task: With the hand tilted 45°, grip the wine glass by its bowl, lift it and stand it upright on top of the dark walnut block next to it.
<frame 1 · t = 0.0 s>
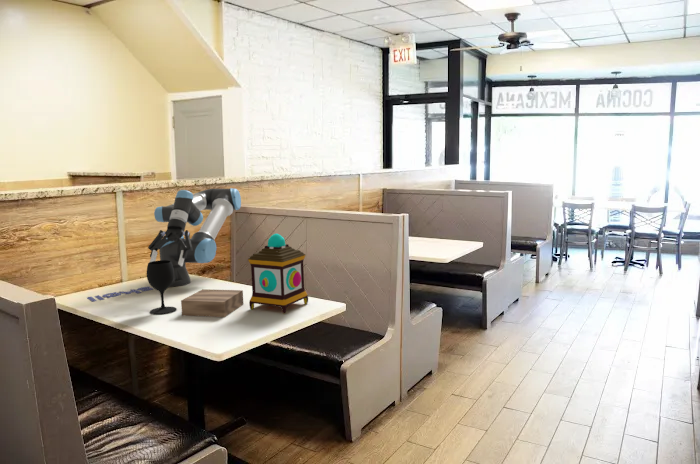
hand: (165, 265, 237), 15 cm above the table, tool tilted 35°, fingers open, 13 cm apart
signage: (122, 295, 251), on the table
walnut block: (213, 309, 221), on the table
wine glass: (163, 311, 221), on the table
decorative lantern: (279, 306, 223), on the table
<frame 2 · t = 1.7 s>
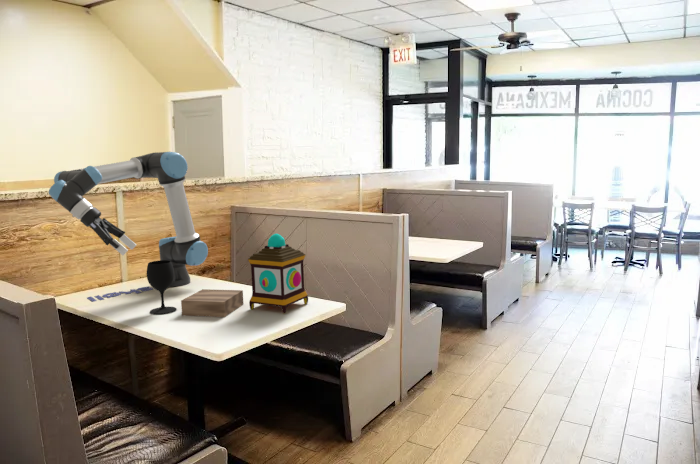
hand: (130, 250, 216), 25 cm above the table, tool tilted 45°, fingers open, 13 cm apart
nothing on the table moved.
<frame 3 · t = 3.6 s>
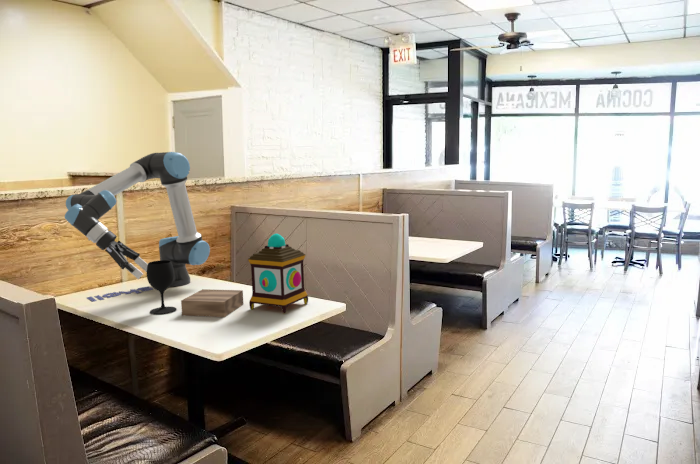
hand: (145, 273, 217), 16 cm above the table, tool tilted 45°, fingers open, 13 cm apart
nothing on the table moved.
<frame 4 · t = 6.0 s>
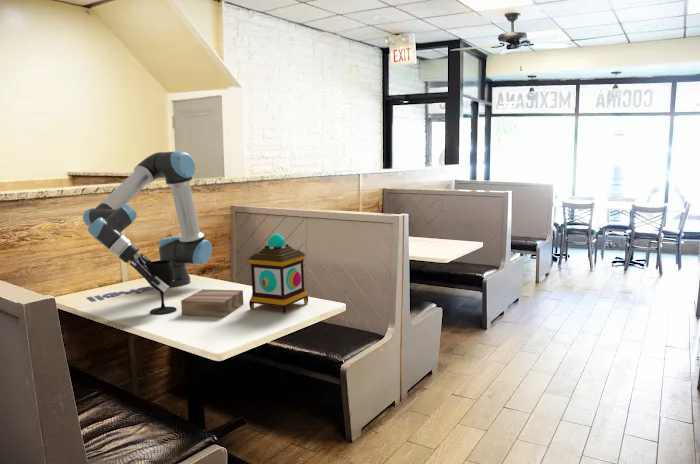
hand: (169, 286, 220), 10 cm above the table, tool tilted 45°, fingers closed on wine glass, 10 cm apart
wine glass: (163, 311, 221), on the table, touching gripper
everything else where it was.
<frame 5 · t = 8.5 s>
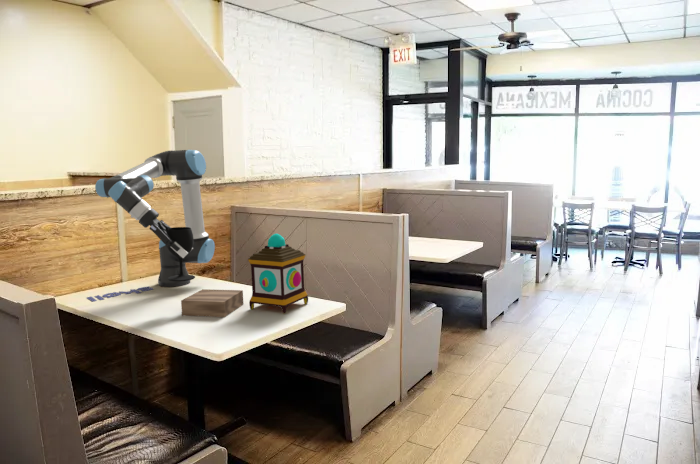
hand: (188, 253, 216), 24 cm above the table, tool tilted 45°, fingers closed on wine glass, 10 cm apart
wine glass: (181, 278, 217), point 13 cm above the table, touching gripper
everything else where it was.
when the fingers open (17 cm above the table, at t = 11.2 s): wine glass drops 1 cm, resting on walnut block.
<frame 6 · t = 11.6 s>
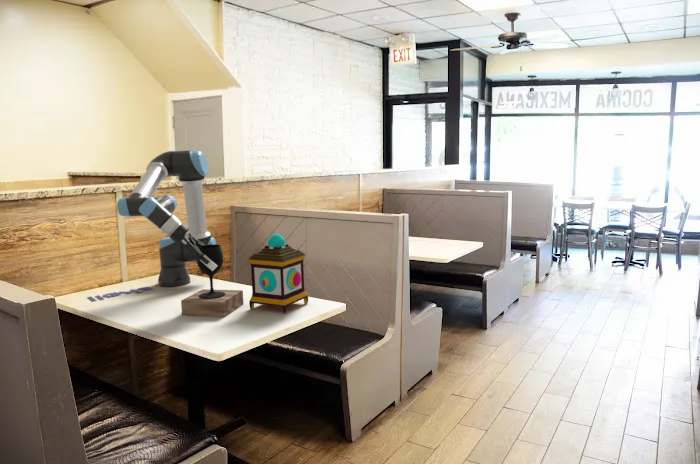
hand: (216, 265, 218), 18 cm above the table, tool tilted 45°, fingers open, 13 cm apart
wine glass: (212, 296, 219), point 6 cm above the table, touching walnut block
everything else where it was.
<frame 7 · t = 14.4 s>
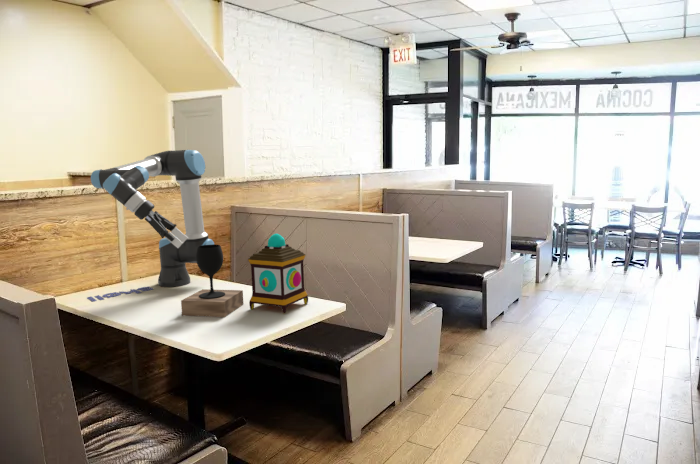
hand: (183, 243, 215), 28 cm above the table, tool tilted 45°, fingers open, 13 cm apart
nothing on the table moved.
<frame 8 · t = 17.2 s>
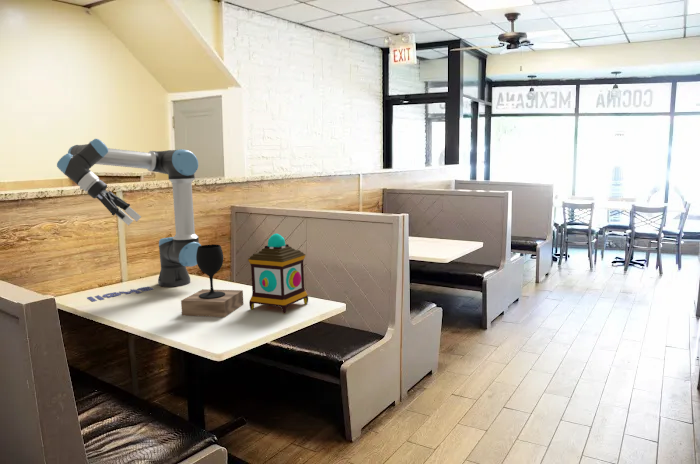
hand: (135, 221, 225), 36 cm above the table, tool tilted 45°, fingers open, 13 cm apart
nothing on the table moved.
at the end: wine glass inside the target area on the walnut block (0.5 cm from its centre), point 5.8 cm above the walnut block's base; wine glass tilted 0°; the gripper is holding nothing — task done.
